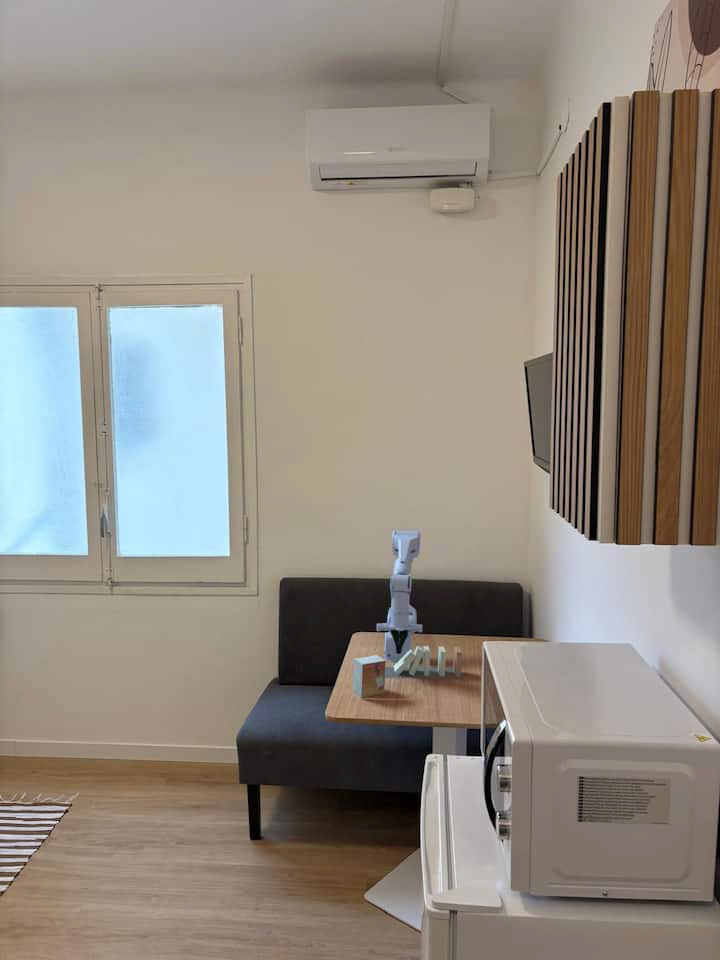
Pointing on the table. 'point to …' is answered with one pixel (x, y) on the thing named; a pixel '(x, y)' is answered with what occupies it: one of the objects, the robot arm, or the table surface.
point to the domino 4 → (441, 661)
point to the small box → (369, 676)
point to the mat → (422, 674)
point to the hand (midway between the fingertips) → (398, 652)
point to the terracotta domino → (457, 661)
